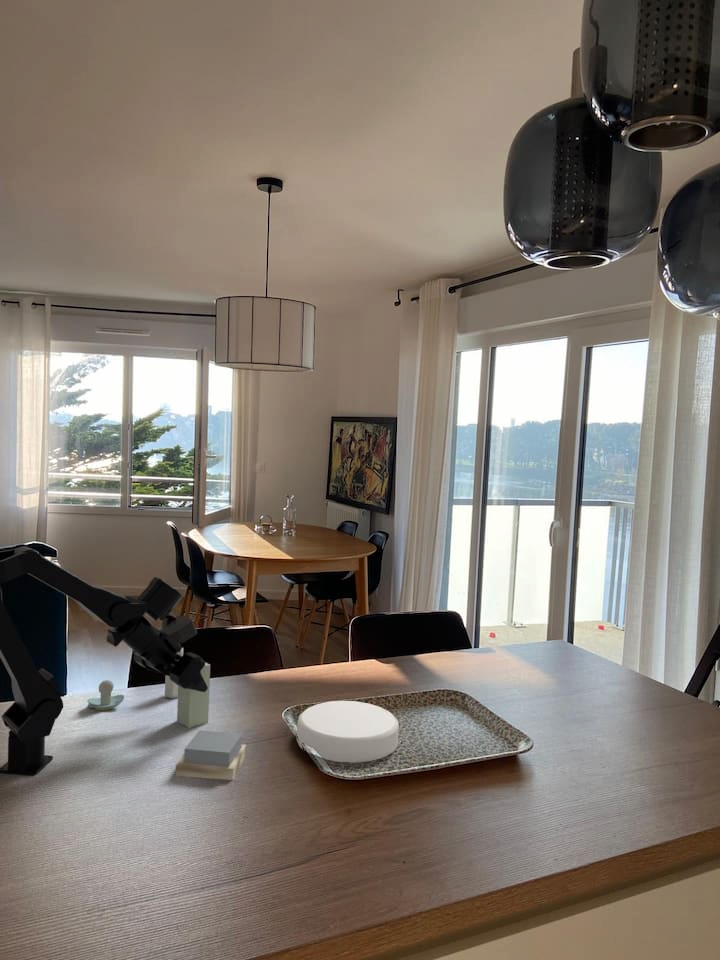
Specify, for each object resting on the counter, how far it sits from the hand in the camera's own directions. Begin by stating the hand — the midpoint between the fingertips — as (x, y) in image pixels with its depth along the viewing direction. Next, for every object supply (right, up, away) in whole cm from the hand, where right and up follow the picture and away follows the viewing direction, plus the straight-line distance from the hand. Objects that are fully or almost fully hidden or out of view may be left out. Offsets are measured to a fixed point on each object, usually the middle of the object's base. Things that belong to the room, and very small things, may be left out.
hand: (193, 683), depth 147 cm
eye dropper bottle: (-7, -7, +15) cm, 18 cm away
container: (+31, -10, -4) cm, 33 cm away
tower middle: (+8, -8, -18) cm, 21 cm away
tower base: (+7, -10, -18) cm, 22 cm away
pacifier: (-20, -7, +6) cm, 22 cm away
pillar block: (0, -8, +1) cm, 8 cm away
